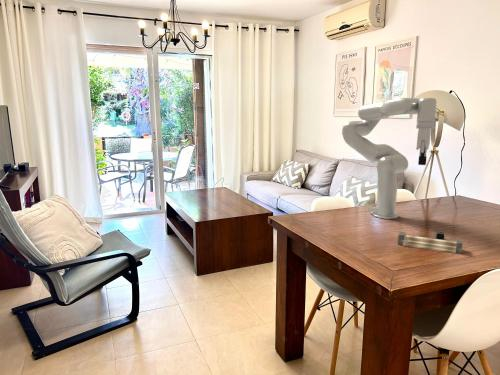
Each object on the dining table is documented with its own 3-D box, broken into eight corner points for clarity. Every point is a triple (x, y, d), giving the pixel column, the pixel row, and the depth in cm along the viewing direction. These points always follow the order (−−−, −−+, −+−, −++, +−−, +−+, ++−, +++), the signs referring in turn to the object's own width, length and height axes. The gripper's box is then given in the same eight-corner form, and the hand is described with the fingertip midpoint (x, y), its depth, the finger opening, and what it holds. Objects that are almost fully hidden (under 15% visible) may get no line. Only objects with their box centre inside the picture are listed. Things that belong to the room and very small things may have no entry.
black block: (450, 249, 150) (451, 238, 149) (429, 246, 153) (430, 236, 152) (447, 239, 162) (448, 229, 161) (428, 237, 164) (429, 227, 163)
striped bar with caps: (397, 244, 154) (398, 235, 153) (399, 240, 159) (399, 231, 158) (461, 254, 143) (462, 244, 142) (461, 249, 148) (462, 239, 147)
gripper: (418, 124, 182) (414, 162, 185) (414, 125, 169) (411, 166, 172) (435, 125, 178) (431, 163, 182) (433, 126, 165) (429, 167, 169)
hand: (422, 164), depth 177 cm, fingers closed
